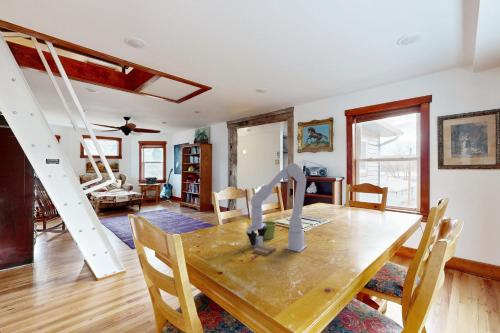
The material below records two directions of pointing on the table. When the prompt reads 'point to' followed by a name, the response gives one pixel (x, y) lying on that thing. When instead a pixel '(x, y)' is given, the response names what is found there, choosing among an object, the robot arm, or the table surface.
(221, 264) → the table surface
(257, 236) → the block
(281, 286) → the table surface
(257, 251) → the slab
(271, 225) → the plant pot
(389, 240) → the table surface
